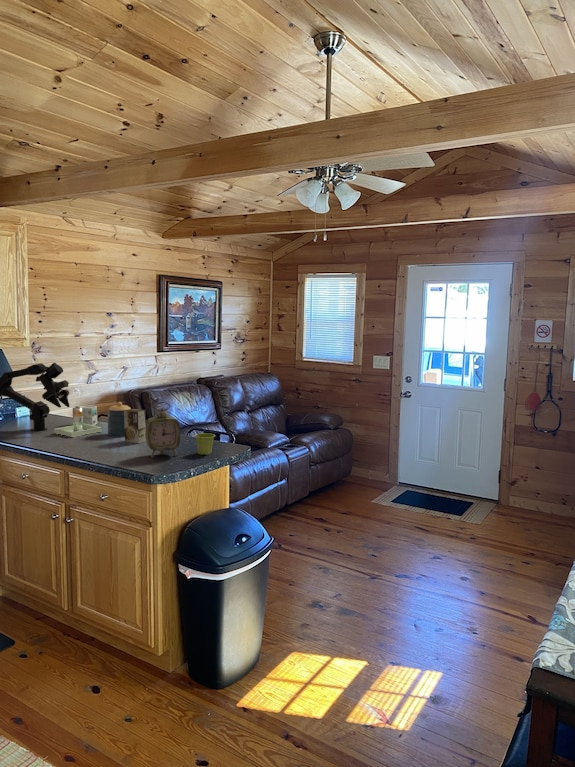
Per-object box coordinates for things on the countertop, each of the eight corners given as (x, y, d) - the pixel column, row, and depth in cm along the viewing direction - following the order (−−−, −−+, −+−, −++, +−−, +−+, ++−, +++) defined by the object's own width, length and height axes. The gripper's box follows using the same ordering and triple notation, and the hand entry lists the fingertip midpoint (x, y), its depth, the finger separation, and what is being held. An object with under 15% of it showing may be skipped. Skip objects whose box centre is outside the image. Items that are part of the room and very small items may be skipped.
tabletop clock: (148, 459, 258) (147, 404, 255) (145, 454, 266) (144, 401, 263) (180, 456, 264) (180, 402, 261) (176, 451, 272) (175, 399, 269)
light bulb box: (97, 424, 333) (97, 405, 332) (92, 426, 327) (92, 407, 325) (80, 423, 334) (79, 405, 333) (74, 426, 328) (74, 407, 326)
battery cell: (72, 432, 307) (71, 407, 305) (75, 430, 312) (74, 405, 310) (81, 432, 307) (80, 407, 305) (84, 430, 312) (83, 405, 310)
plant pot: (205, 450, 276) (205, 432, 275) (219, 453, 270) (219, 435, 269) (190, 453, 269) (190, 435, 268) (204, 457, 263) (204, 438, 262)
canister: (102, 435, 304) (101, 402, 301) (118, 431, 316) (117, 399, 313) (122, 438, 299) (121, 404, 297) (137, 433, 311) (137, 401, 309)
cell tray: (54, 433, 307) (54, 428, 307) (84, 428, 322) (84, 423, 321) (71, 437, 298) (71, 432, 297) (101, 432, 312) (101, 427, 312)
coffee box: (147, 441, 293) (146, 409, 291) (138, 443, 287) (138, 411, 285) (132, 439, 297) (132, 408, 295) (124, 441, 291) (123, 410, 289)
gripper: (51, 374, 302) (67, 398, 300) (68, 375, 320) (84, 398, 319) (34, 386, 302) (51, 410, 301) (53, 387, 321) (68, 409, 320)
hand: (64, 407), depth 310 cm, fingers open, 9 cm apart
